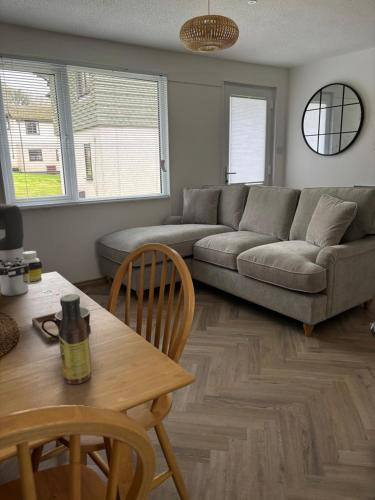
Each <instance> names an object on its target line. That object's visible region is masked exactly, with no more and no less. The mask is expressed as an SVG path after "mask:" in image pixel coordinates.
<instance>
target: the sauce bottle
mask: <svg viewBox="0 0 375 500" xmlns="http://www.w3.org/2000/svg"><path fill="white" fill-rule="evenodd" d="M59 302H60V306H61V310H62V321H61V324H60V328H59V331H58V335H59V341H58V343H59V353H60V360H61V368H62V375H63V378H64V381H65V382H66V383H67V384H70V385H79V384H82V383H85V382H87V381H88V380H89V379H90V378H91V376H92V361H91V360H92V359H91V350H90V336H89V337H88V332H87V324H86V322H85V320H84V319H83V318H82V317H81V312H80V307H81V306H80V305H81V297H80V295H79V294H76V293H70V294H69V293H68V294H66V295H63V296H61V297H60V298H59Z"/></svg>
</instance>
